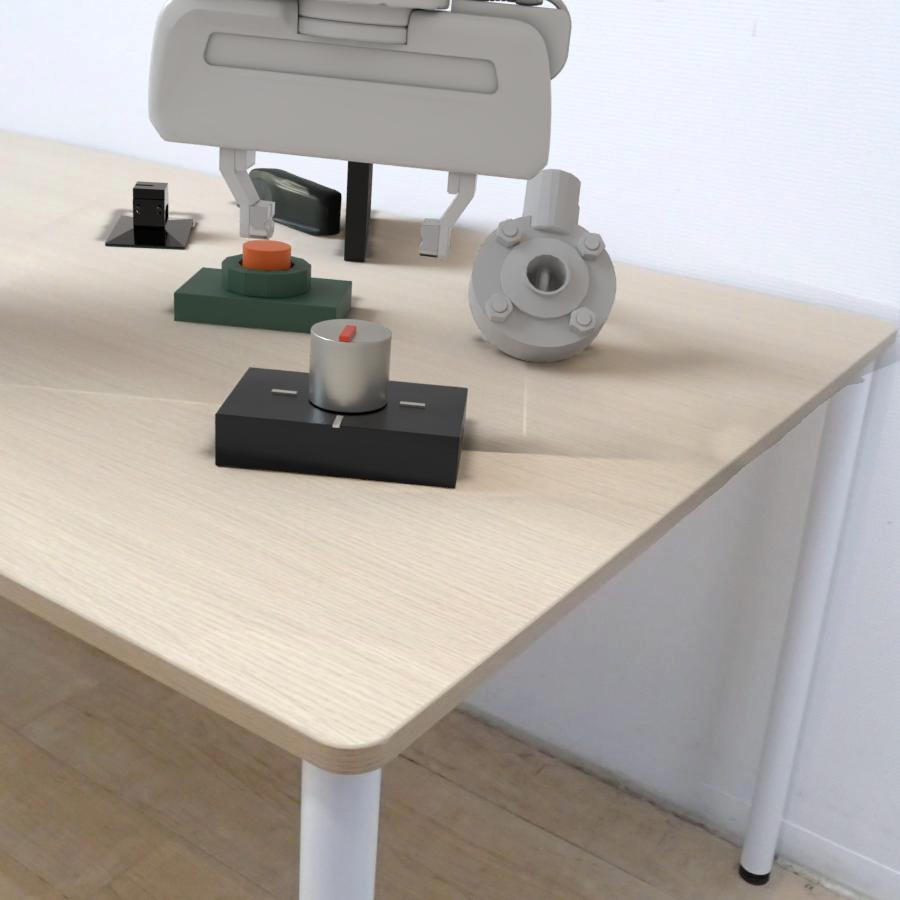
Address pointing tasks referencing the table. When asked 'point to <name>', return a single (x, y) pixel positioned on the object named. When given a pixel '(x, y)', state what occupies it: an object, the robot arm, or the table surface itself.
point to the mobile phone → (299, 201)
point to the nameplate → (357, 210)
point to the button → (266, 255)
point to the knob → (349, 365)
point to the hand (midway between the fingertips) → (345, 246)
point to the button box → (262, 297)
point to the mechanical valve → (543, 276)
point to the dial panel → (342, 431)
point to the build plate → (150, 221)
